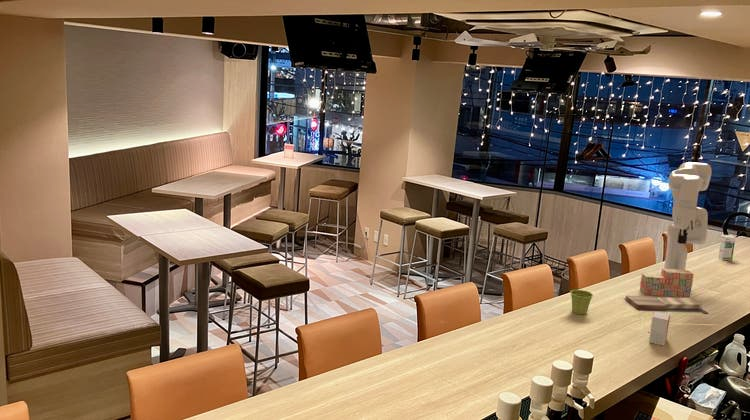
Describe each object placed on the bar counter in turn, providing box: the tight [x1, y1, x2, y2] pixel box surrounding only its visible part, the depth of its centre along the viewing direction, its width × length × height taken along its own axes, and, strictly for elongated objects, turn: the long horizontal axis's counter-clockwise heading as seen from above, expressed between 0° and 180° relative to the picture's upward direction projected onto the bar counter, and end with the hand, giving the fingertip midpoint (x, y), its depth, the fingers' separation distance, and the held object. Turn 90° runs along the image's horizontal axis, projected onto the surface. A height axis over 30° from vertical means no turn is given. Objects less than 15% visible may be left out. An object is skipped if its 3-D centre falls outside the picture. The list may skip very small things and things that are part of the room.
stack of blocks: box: [639, 268, 694, 298], centre depth 284 cm, size 21×6×12 cm, turn 85°
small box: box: [648, 311, 671, 347], centre depth 227 cm, size 8×6×10 cm
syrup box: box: [718, 234, 736, 261], centre depth 355 cm, size 6×6×14 cm
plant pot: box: [569, 289, 594, 315], centre depth 255 cm, size 9×9×9 cm
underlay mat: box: [623, 297, 709, 315], centre depth 268 cm, size 16×31×1 cm, turn 91°
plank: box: [655, 296, 702, 309], centre depth 268 cm, size 16×9×2 cm, turn 91°
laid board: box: [624, 295, 667, 310], centre depth 267 cm, size 12×13×2 cm
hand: (681, 243), depth 274 cm, fingers closed
